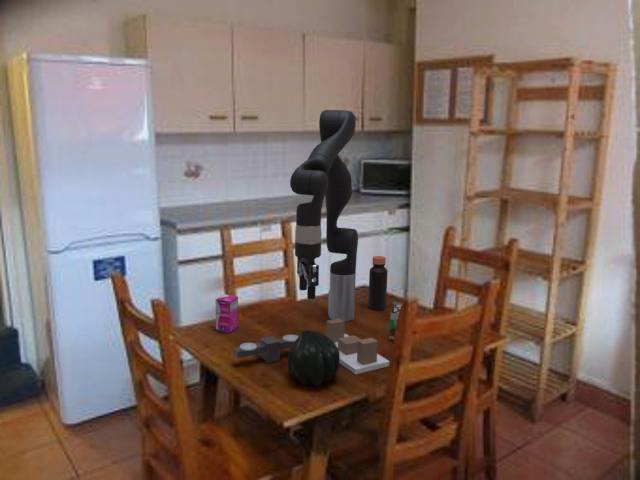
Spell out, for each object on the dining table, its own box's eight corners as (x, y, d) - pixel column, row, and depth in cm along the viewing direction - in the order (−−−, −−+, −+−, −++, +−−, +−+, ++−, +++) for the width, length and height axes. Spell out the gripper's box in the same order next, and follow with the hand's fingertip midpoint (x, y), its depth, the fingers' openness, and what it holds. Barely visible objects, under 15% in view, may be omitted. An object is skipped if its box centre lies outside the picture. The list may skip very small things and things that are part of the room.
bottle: (365, 305, 219) (367, 255, 215) (382, 304, 220) (384, 254, 216) (371, 311, 212) (373, 260, 208) (388, 310, 214) (390, 259, 210)
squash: (358, 363, 155) (331, 316, 159) (320, 383, 144) (293, 331, 148) (330, 381, 164) (306, 336, 168) (293, 401, 154) (268, 352, 158)
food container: (407, 344, 182) (409, 315, 180) (388, 342, 183) (390, 313, 181) (409, 330, 194) (411, 303, 192) (391, 328, 195) (393, 301, 193)
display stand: (314, 344, 180) (314, 321, 179) (345, 337, 186) (346, 315, 185) (355, 374, 160) (356, 348, 158) (389, 366, 166) (390, 340, 164)
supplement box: (215, 330, 190) (214, 298, 188) (224, 325, 196) (224, 293, 193) (230, 333, 188) (229, 301, 186) (239, 327, 193) (238, 295, 191)
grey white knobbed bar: (238, 369, 162) (238, 349, 161) (232, 362, 166) (232, 343, 165) (305, 354, 173) (306, 336, 172) (298, 348, 177) (298, 330, 176)
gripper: (289, 235, 166) (288, 288, 169) (302, 245, 153) (301, 302, 156) (313, 234, 168) (312, 286, 172) (328, 244, 155) (326, 300, 158)
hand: (307, 294), depth 164 cm, fingers open, 8 cm apart
